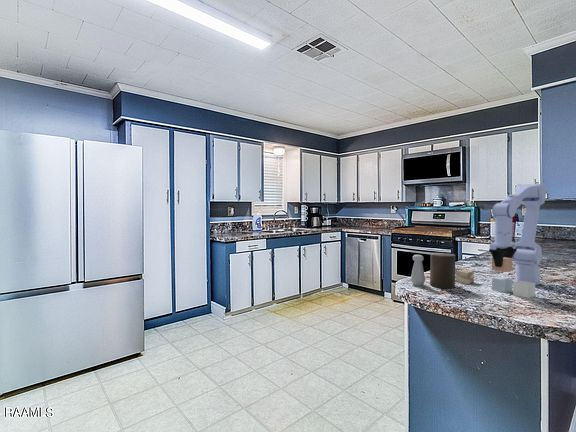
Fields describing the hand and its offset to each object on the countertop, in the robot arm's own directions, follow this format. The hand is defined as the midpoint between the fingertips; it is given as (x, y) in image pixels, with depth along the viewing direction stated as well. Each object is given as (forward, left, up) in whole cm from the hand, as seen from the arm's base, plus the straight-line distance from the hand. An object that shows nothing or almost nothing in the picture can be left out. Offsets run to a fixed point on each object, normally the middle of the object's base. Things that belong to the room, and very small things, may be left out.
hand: (502, 266), depth 128 cm
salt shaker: (+23, -22, -10) cm, 33 cm away
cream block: (0, +8, -10) cm, 13 cm away
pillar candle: (+15, -16, -10) cm, 24 cm away
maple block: (0, -16, -10) cm, 19 cm away
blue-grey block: (0, 0, -10) cm, 10 cm away
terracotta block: (0, 0, -2) cm, 2 cm away
